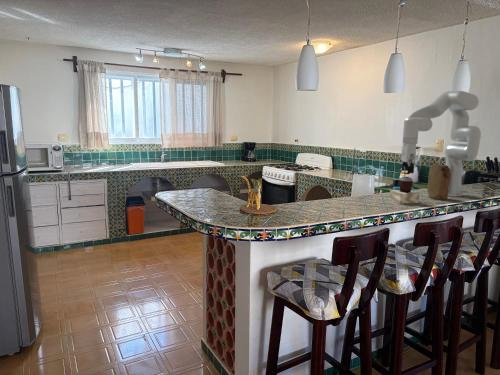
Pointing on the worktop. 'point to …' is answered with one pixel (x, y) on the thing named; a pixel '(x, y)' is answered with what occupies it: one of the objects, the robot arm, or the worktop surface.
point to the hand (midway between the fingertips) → (407, 171)
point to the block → (439, 182)
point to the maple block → (403, 197)
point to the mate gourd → (405, 183)
